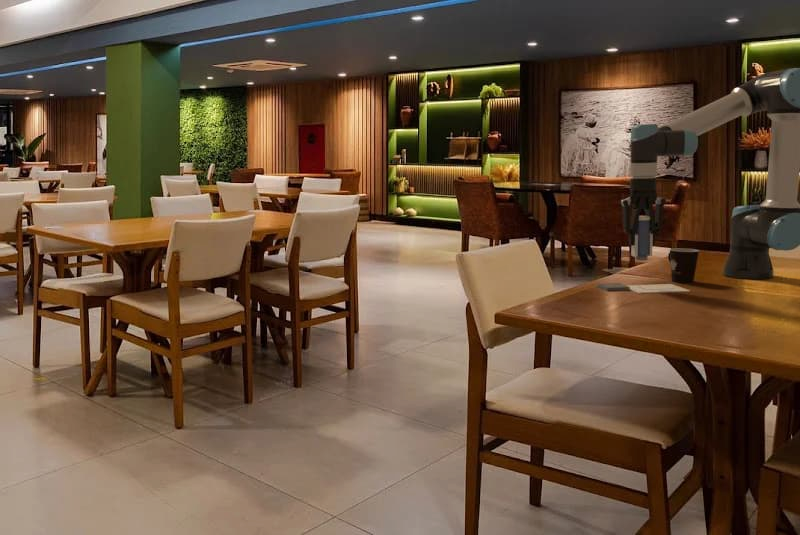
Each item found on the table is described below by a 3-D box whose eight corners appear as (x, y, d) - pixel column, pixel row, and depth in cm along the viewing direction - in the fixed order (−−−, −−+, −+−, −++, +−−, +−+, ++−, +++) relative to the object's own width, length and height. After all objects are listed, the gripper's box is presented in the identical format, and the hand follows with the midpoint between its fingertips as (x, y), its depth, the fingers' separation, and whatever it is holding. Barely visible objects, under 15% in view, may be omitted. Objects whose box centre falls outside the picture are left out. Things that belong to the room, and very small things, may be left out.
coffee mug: (699, 284, 234) (701, 252, 232) (670, 283, 236) (671, 251, 234) (692, 278, 245) (694, 247, 244) (664, 277, 247) (666, 246, 245)
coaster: (619, 286, 231) (619, 282, 231) (629, 290, 225) (629, 287, 224) (597, 286, 230) (597, 283, 230) (607, 291, 223) (607, 287, 223)
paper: (671, 285, 233) (671, 283, 233) (690, 291, 222) (690, 290, 222) (622, 286, 230) (622, 285, 230) (638, 293, 220) (639, 292, 220)
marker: (644, 258, 230) (645, 215, 228) (651, 260, 226) (652, 216, 224) (631, 259, 229) (632, 216, 227) (638, 261, 225) (639, 217, 223)
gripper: (664, 175, 228) (662, 252, 232) (610, 177, 226) (609, 255, 230) (676, 176, 221) (674, 256, 225) (621, 178, 219) (620, 259, 222)
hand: (641, 255), depth 227 cm, fingers closed on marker, 4 cm apart
